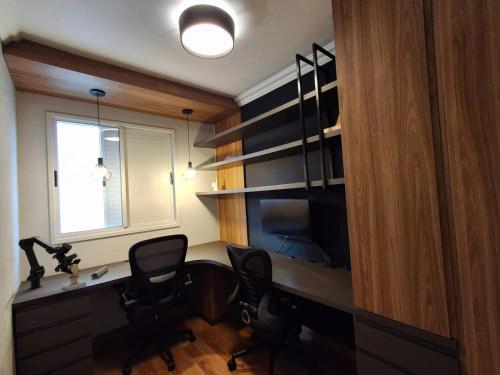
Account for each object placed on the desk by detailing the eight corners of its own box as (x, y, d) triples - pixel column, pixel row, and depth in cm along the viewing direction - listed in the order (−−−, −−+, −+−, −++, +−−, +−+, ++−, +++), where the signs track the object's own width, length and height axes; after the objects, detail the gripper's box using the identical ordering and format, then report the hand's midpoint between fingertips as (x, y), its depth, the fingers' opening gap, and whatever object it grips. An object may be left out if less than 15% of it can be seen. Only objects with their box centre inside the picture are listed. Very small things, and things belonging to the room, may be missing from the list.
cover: (67, 281, 181) (66, 265, 182) (77, 279, 186) (77, 263, 187) (70, 283, 177) (69, 266, 177) (80, 280, 182) (80, 264, 183)
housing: (61, 287, 180) (61, 284, 180) (80, 282, 190) (80, 279, 190) (67, 290, 173) (67, 287, 173) (86, 285, 182) (86, 282, 183)
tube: (101, 267, 222) (89, 274, 198) (107, 264, 223) (96, 271, 199) (103, 272, 222) (92, 280, 198) (109, 269, 223) (99, 277, 199)
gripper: (57, 253, 174) (71, 268, 172) (78, 248, 192) (91, 261, 191) (48, 264, 174) (61, 279, 173) (70, 258, 193) (82, 272, 191)
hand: (75, 272), depth 182 cm, fingers closed on cover, 6 cm apart
